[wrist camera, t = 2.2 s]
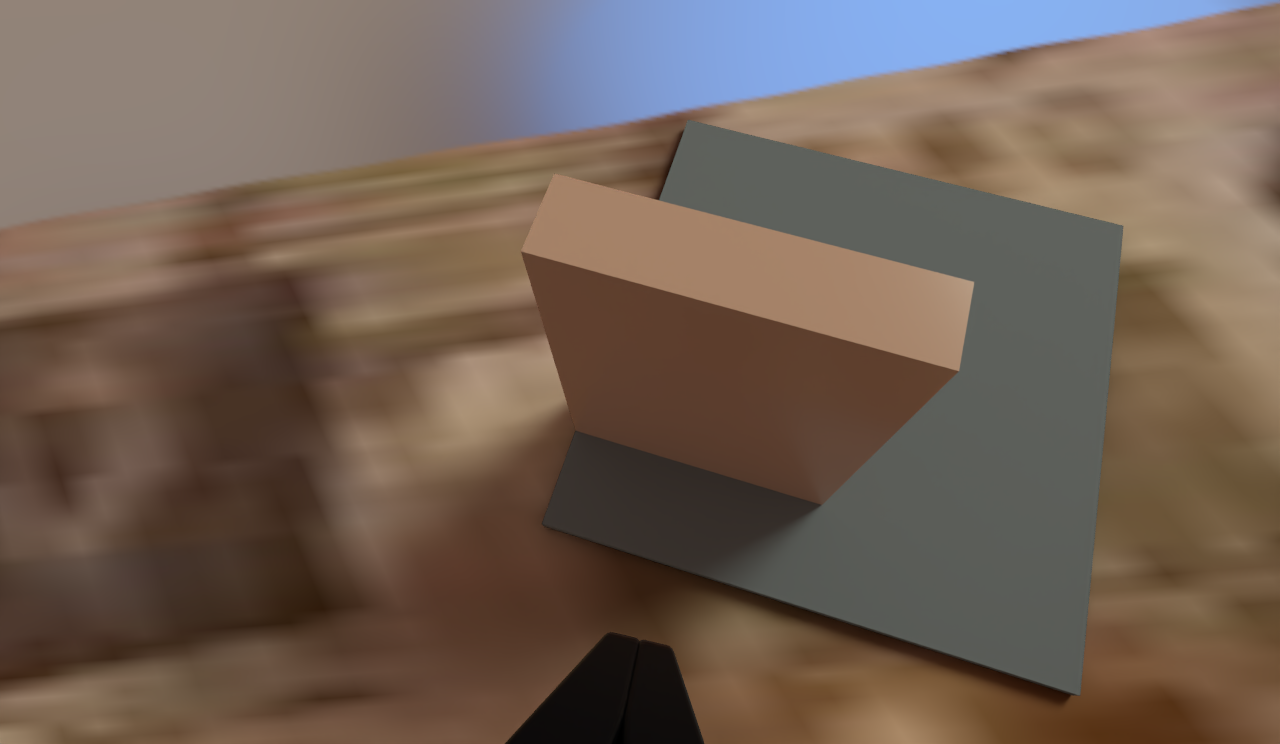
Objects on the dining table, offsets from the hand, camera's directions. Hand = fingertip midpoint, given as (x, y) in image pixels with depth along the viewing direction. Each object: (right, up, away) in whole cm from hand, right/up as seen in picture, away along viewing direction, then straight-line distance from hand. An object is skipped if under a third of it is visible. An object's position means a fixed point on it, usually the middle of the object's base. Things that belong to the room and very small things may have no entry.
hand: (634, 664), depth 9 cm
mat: (+7, +4, +16) cm, 18 cm away
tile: (+2, +1, +15) cm, 15 cm away
